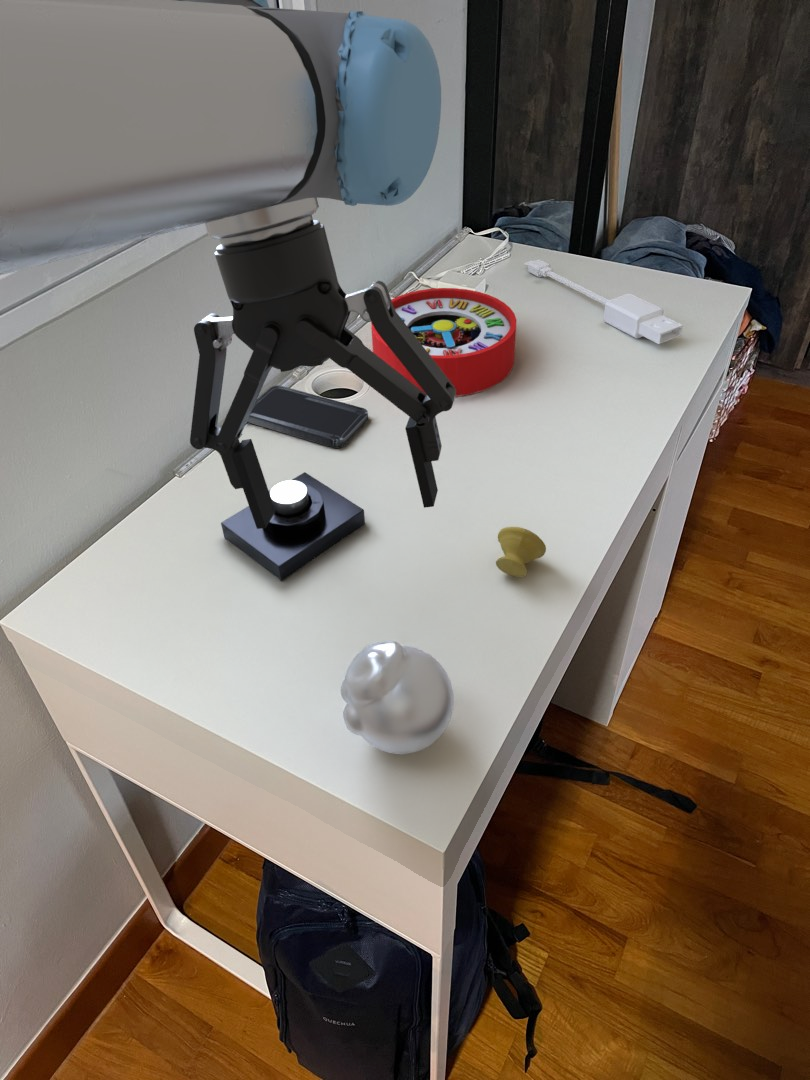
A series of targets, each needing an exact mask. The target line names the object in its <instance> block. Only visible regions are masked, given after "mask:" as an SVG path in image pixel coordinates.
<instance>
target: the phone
mask: <svg viewBox="0 0 810 1080" xmlns="http://www.w3.org/2000/svg"><path fill="white" fill-rule="evenodd" d="M368 422H369V412H368V410H367V409H366V408H364V407H361V406H357V405H355V404H354V405H353V404H350V403H346V402H342V401H338V400H335V399H331V398H328V397H324V396H320V395H317V394H312V393H311V392H310V393H309V392H305V391H302V390H298V389H294V388H291V387H289V386H288V387H287V386H283V385H272V386H271V387H269V388H268V389H266V391H265V392H263V393H262V394H261V395H259V396H258V398H257V400H256V402H255V404H254V407H253V409H252V411H251V413H250V416H249V418H248V420H247V422H246V423H249V424H252V425H256V426H259V427H262V428H266V429H269V430H271V431H276V432H279V433H283V434H286V435H289V436H293V437H296V438H299V439H303V440H306V441H310V442H312V443H316V444H320V445H323V446H325V447H329V448H333V449H340V448H343V447H345V446H346V445H347V444H348V443H349V442H350V441H351V440H352V439H353V438H354V437H355V436H356V434H358V432H359V431H360V430H362V428H363V427H364V426H365V425H366V424H367V423H368Z"/></svg>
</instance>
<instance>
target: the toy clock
mask: <svg viewBox="0 0 810 1080" xmlns="http://www.w3.org/2000/svg"><path fill="white" fill-rule="evenodd" d="M391 301H392V304H393V307H394V310H395V311H396V313H397V314H398V315H399V316H400V318H401V319H402V320H403V321H404V323H405V324H406V325H407V327H408V328H409V329H410V330H411V332H412V333H413V334H414V336H415V337H416V338H417V339H418V341H419V342H420V343H421V345H422V346H423V347H424V348H425V350H426V351H427V352H428V353H429V355H430V356H431V357H432V359H433V360H434V361H435V362H436V364H437V365H438V366H439V368H440V369H441V370H442V371H443V373H444V374H445V375H446V376H447V378H448V379H449V380H450V382H451V383H452V384H453V385H454V387H455V389H456V395H455V398H456V397H463V396H468V395H473V394H476V393H480V392H483V391H486V390H488V389H490V388H493V387H495V386H496V385H498V384H499V383H502V381H504V380H505V379H506V378H507V377H508V376H509V374H510V373H511V372H512V371H513V368H514V366H515V353H516V337H517V317H516V313H515V312H514V311H513V310H512V308H511V307H510V306H509V305H508V304H507V303H505V302H504V301H502V300H500V299H499V298H497V297H495V296H493V295H490V294H488V293H484V292H481V291H477V290H473V289H472V290H471V289H466V288H456V287H435V288H434V287H433V288H427V289H418V290H415V291H410V292H407V293H403V294H401V295H398V296H396V297H394V298H391ZM370 326H371V327H370V329H371V343H372V352H373V353H375V354H376V355H377V356H378V357H380V358H381V359H382V360H383V361H385V362H386V363H387V364H389V365H390V366H391V367H392V368H394V369H395V370H396V371H397V372H399V373H400V374H401V375H403V376H404V377H405V378H406V379H408V380H409V381H410V382H411V383H413V384H414V385H415V386H417V387H418V388H419V389H420V390H422V391H423V392H424V390H423V389H422V388H421V387H420V385H419V384H418V383H417V382H416V380H415V379H414V378H413V377H412V375H411V374H410V373H409V372H408V370H407V369H406V368H405V367H404V365H403V364H402V363H401V362H400V360H399V359H398V358H397V357H396V355H395V354H394V353H393V352H392V350H391V349H390V348H389V347H388V345H387V344H386V343H385V342H384V340H383V339H382V338H381V337H380V335H379V334H378V332H377V331H376V329H375V328H374V326H373V324H372V322H370ZM424 393H425V392H424ZM425 394H426V393H425Z"/></svg>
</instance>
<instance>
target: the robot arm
mask: <svg viewBox="0 0 810 1080" xmlns="http://www.w3.org/2000/svg"><path fill="white" fill-rule="evenodd" d="M269 5H270V4H269V3H268V0H0V276H3V275H7V274H11V273H15V272H19V271H23V270H27V269H31V268H35V267H39V266H43V265H45V264H50V263H55V262H57V261H62V260H66V259H71V258H74V257H77V256H81V255H86V254H89V253H93V252H97V251H102V250H104V249H105V250H106V249H109V248H113V247H116V246H122V245H125V244H128V243H129V244H130V243H132V242H136V241H141V240H144V239H148V238H149V239H150V238H152V237H157V236H160V235H165V234H168V233H172V232H177V231H180V230H184V229H188V228H191V227H195V226H200V225H204V226H205V230H206V233H207V236H209V237H211V238H212V239H214V240H219V242H220V244H218V245H217V246H216V248H215V250H216V251H215V252H214V256H215V257H214V258H215V260H216V263H217V266H218V269H219V272H220V276H221V279H222V282H223V285H224V288H225V291H226V295H227V298H228V300H229V302H230V304H231V306H232V316H224V317H223V316H222V317H221V316H219V315H218V314H216V313H214V312H213V313H212V312H211V313H208V315H206V316H205V317H203V318H202V319H201V320H200V321H198V322H197V323H196V324H195V325H194V327H193V333H194V337H195V342H196V346H197V351H198V354H199V356H198V365H197V374H196V382H195V383H196V384H195V390H194V391H195V393H194V400H193V410H192V418H191V426H190V427H191V428H190V437H189V443H190V445H191V447H192V448H194V449H196V450H198V451H199V450H202V449H210V450H214V451H216V452H217V453H218V454H219V456H220V457H221V460H222V464H223V466H224V469H225V472H226V475H227V477H228V480H229V483H230V485H231V486H232V488H234V489H235V490H239V489H242V491H243V493H244V496H245V500H246V502H247V504H248V506H249V507H250V510H251V513H252V516H253V519H254V522H255V525H256V527H257V529H261V528H266V527H267V525H268V523H269V522H270V520H271V518H272V517H273V515H274V513H275V509H274V506H273V503H272V500H271V497H270V494H269V491H270V490H269V488H268V484H267V482H266V478H265V476H264V473H263V470H262V467H261V463H260V460H259V457H258V454H257V451H256V449H255V446H254V443H253V440H252V438H247V439H242V440H241V441H240V438H241V437H242V435H243V431H244V429H245V427H246V424H247V423H248V422H247V420H248V418H249V416H250V413H251V411H252V409H253V407H254V404H255V402H256V400H257V399H258V398H259V397H260V393H261V391H262V389H263V387H264V384H265V382H266V380H267V377H268V376H269V374H270V371H271V370H272V368H274V369H276V370H280V373H283V372H289V371H293V370H295V369H297V368H299V367H312V368H313V367H317V366H322V365H324V363H325V362H327V361H328V360H332V362H334V363H335V364H336V365H337V366H339V367H341V368H342V369H347V370H349V371H350V372H351V373H353V374H354V375H355V376H356V377H358V378H359V379H360V380H362V382H364V383H366V385H368V386H369V387H371V388H372V389H373V390H374V391H376V392H377V393H378V394H380V396H382V397H383V398H384V399H386V400H387V401H389V403H391V404H393V405H394V406H395V407H396V408H397V409H399V410H400V411H402V412H403V413H404V414H405V415H407V416H408V420H407V422H406V425H405V428H404V429H405V434H406V437H407V441H408V446H409V450H410V455H411V458H412V463H413V467H414V471H415V475H416V479H417V484H418V488H419V489H418V490H419V493H420V497H421V501H422V505H423V508H424V509H425V508H432V507H435V503H436V499H437V494H438V491H439V488H438V485H437V479H436V476H435V471H434V467H433V462H438V461H439V460H440V456H441V450H442V447H443V446H442V445H443V444H442V441H441V436H440V431H439V426H438V422H437V417H436V416H437V415H439V414H441V413H442V412H448V411H450V410H451V409H452V408H453V405H454V402H455V398H456V397H455V395H456V389H455V387H454V385H453V384H452V383H451V382H450V380H449V379H448V378H447V376H446V375H445V374H444V373H443V371H442V370H441V369H440V368H439V366H438V365H437V364H436V362H435V361H434V360H433V359H432V357H431V356H430V355H429V353H428V352H427V351H426V350H425V348H424V347H423V346H422V345H421V343H420V342H419V341H418V339H417V338H416V337H415V336H414V334H413V333H412V332H411V330H410V329H409V328H408V327H407V325H406V324H405V323H404V321H403V320H402V319H401V318H400V316H399V315H398V314H397V313H396V311H395V310H394V307H393V304H392V301H391V299H392V298H391V295H390V292H389V290H388V289H389V288H388V287H387V285H386V283H385V282H383V281H381V280H374V281H373V282H372V283H371V285H369V287H366V288H364V289H360V290H357V291H354V292H351V293H346V291H344V290H343V288H342V287H341V285H340V282H339V280H338V277H337V275H338V274H337V272H336V268H335V264H334V260H333V256H332V251H331V248H330V244H329V240H328V236H327V232H326V228H325V225H324V224H323V223H321V221H320V220H318V219H313V215H314V214H316V213H317V211H318V209H319V208H320V206H319V201H318V198H319V199H329V200H330V199H331V200H336V201H341V202H343V203H344V205H346V206H351V207H356V206H357V205H358V204H359V205H360V204H361V205H372V206H373V205H374V206H386V207H387V206H388V207H389V206H396V205H400V204H402V203H404V202H406V201H407V200H409V199H410V198H411V197H412V196H414V194H415V193H416V192H417V190H418V189H419V188H420V187H421V185H422V184H423V182H424V180H425V178H426V176H427V175H428V173H429V170H430V168H431V165H432V162H433V159H434V155H435V152H436V148H437V145H438V139H439V134H440V123H441V113H442V112H441V111H442V84H441V75H440V70H439V65H438V60H437V57H436V55H435V52H434V48H433V47H432V44H431V43H430V41H429V39H428V37H426V35H425V34H424V32H423V31H422V30H421V29H420V28H419V27H418V26H417V25H416V24H414V23H412V22H410V21H407V20H405V19H400V18H392V17H385V16H378V15H371V14H370V15H369V14H366V12H364V11H363V10H361V11H359V10H349V12H348V13H347V12H335V11H334V12H333V11H324V10H323V11H322V10H309V9H308V10H307V9H294V8H281V7H280V8H279V7H270V6H269ZM351 312H352V313H356V314H358V315H359V317H360V318H361V319H362V320H363V321H364V322H366V323H371V322H372V324H373V326H374V328H375V329H376V331H377V332H378V334H379V335H380V337H381V338H382V339H383V340H384V342H385V343H386V344H387V345H388V347H389V348H390V349H391V350H392V352H393V353H394V354H395V355H396V357H397V358H398V359H399V360H400V362H401V363H402V364H403V365H404V367H405V368H406V369H407V370H408V372H409V373H410V374H411V375H412V377H413V378H414V379H415V380H416V382H417V383H418V384H419V385H420V387H421V388H422V389H423V390H424V392H425V393H426V394H425V393H424V392H423V391H422V390H420V389H419V388H418V387H417V386H415V385H414V384H413V383H411V382H410V381H409V380H408V379H406V378H405V377H404V376H403V375H401V374H400V373H399V372H397V371H396V370H395V369H394V368H392V367H391V366H390V365H389V364H387V363H386V362H385V361H383V360H382V359H381V358H380V357H378V356H377V355H376V354H375V353H373V350H371V349H370V348H368V347H367V346H365V344H364V343H363V340H362V339H361V338H359V336H357V335H356V334H355V333H354V332H352V331H351V330H350V329H348V328H347V327H346V325H347V323H348V320H349V318H350V315H351ZM233 335H235V336H236V338H238V340H240V341H241V342H242V343H243V344H244V345H246V346H247V347H248V348H249V349H250V350H251V351H252V352H251V356H250V358H249V360H248V362H247V365H246V367H245V369H244V372H243V376H242V379H241V381H240V383H239V385H238V388H237V390H236V393H235V395H234V398H233V400H232V402H231V405H230V406H229V409H228V411H227V414H226V416H225V418H224V421H223V423H222V425H221V427H219V426H218V421H219V415H220V406H221V400H222V399H221V398H222V391H223V384H224V377H225V368H226V362H227V361H226V360H227V352H228V351H227V350H228V349H227V347H228V346H230V345H231V344H232V341H233Z"/></svg>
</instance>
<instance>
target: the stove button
mask: <svg viewBox="0 0 810 1080" xmlns="http://www.w3.org/2000/svg"><path fill="white" fill-rule="evenodd" d="M270 490H271V491H270ZM270 490H269V491H270V497H271V500H272V503H273V506H274V509H275V514H276V515H277V516H279V517H285V518H291V517H296V516H300V515H302V514H304V513H305V512H307V510H308V509H309V506H310V503H309V497H308V490H307V487H306V485H305V484H303V483H302V482H299V481H295V480H292V479H288V480H283V481H280V482H278V483H276V484H275V485H273V486H272V487H271V489H270Z"/></svg>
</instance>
